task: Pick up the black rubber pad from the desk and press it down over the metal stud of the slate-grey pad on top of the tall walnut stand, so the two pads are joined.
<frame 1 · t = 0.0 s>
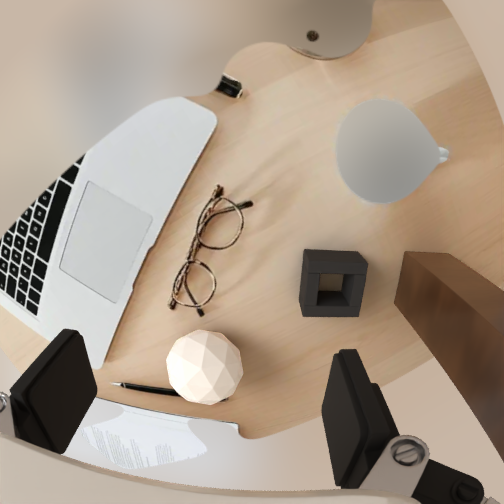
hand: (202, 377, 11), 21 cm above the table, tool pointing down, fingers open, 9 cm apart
geometric ball: (209, 345, 34), on the table
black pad: (328, 276, 31), on the table
stand: (422, 278, 31), on the table
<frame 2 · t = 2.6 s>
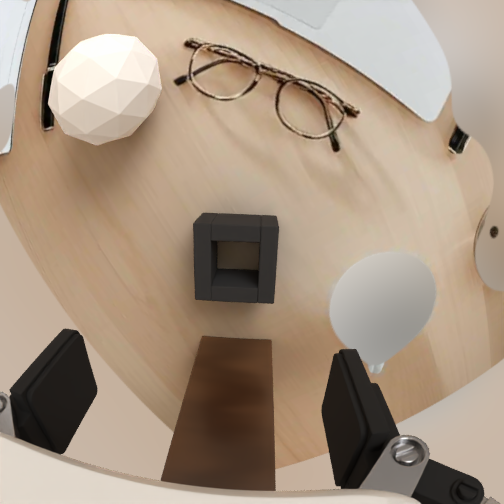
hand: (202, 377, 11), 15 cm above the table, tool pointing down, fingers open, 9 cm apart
geometric ball: (127, 95, 21), on the table
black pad: (238, 249, 24), on the table
stand: (236, 364, 28), on the table
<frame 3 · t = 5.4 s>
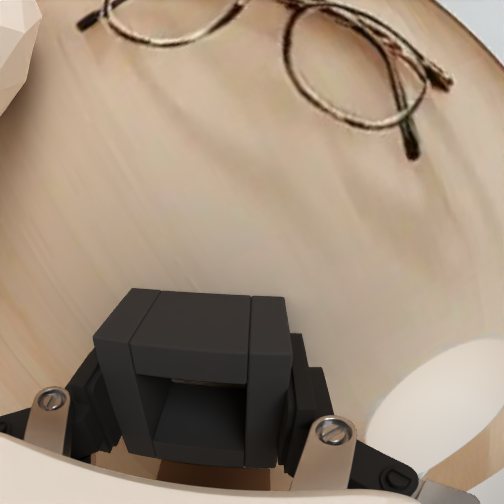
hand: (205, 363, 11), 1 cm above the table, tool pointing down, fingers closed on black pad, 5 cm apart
geometric ball: (7, 66, 8), on the table
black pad: (207, 355, 12), on the table, touching gripper
stand: (217, 489, 15), on the table
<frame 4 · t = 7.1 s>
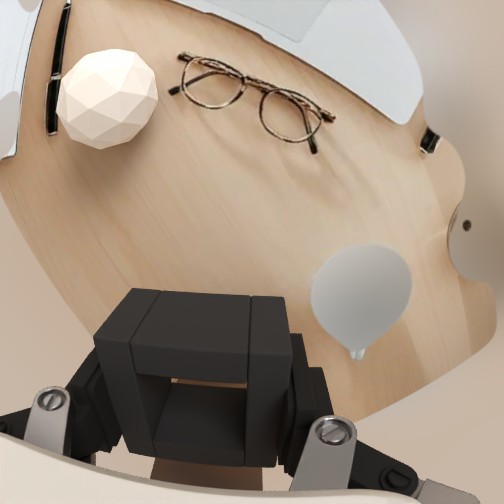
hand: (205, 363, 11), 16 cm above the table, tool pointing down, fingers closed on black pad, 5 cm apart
geometric ball: (126, 103, 23), on the table
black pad: (207, 355, 12), point 16 cm above the table, touching gripper
stand: (226, 351, 30), on the table
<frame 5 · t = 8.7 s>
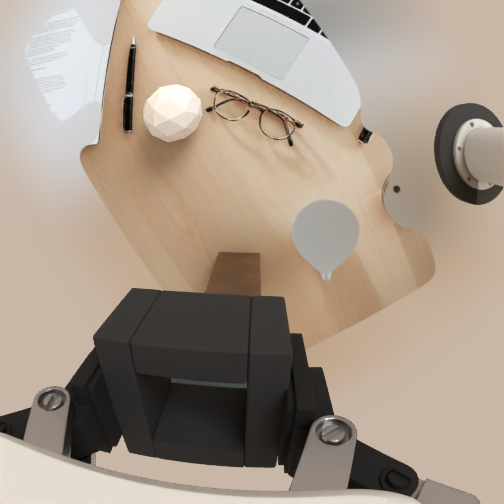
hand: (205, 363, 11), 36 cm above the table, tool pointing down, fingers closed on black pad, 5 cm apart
grey pad: (221, 406, 22), resting on stand
geometric ball: (179, 115, 42), on the table
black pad: (207, 355, 12), point 35 cm above the table, touching gripper
stand: (238, 271, 49), on the table
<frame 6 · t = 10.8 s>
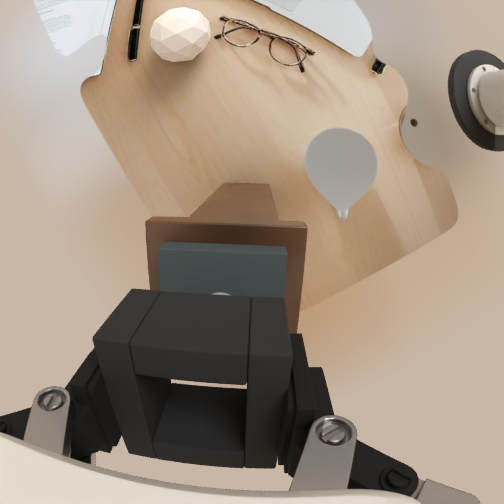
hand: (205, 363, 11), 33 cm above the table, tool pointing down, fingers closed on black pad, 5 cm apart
grey pad: (223, 299, 16), resting on stand
geometric ball: (186, 43, 36), on the table
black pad: (207, 356, 12), point 33 cm above the table, touching gripper
stand: (245, 205, 43), on the table
when the fingers open (30 cm above the table, at t = 12.3 s): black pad stays where it is, resting on grey pad.
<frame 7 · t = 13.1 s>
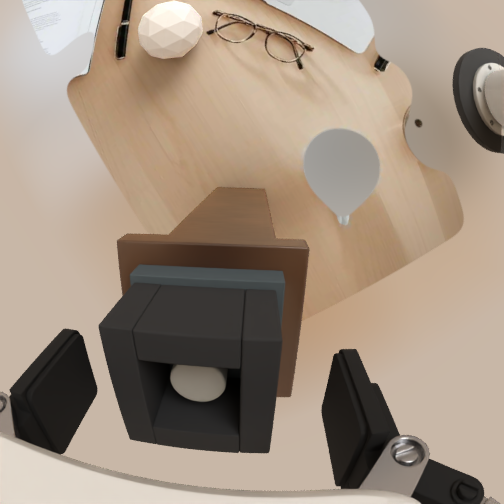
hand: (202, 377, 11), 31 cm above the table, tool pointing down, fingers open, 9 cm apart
grey pad: (209, 330, 14), resting on stand
geometric ball: (177, 39, 34), on the table
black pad: (204, 346, 13), point 29 cm above the table, touching grey pad
stand: (240, 211, 40), on the table
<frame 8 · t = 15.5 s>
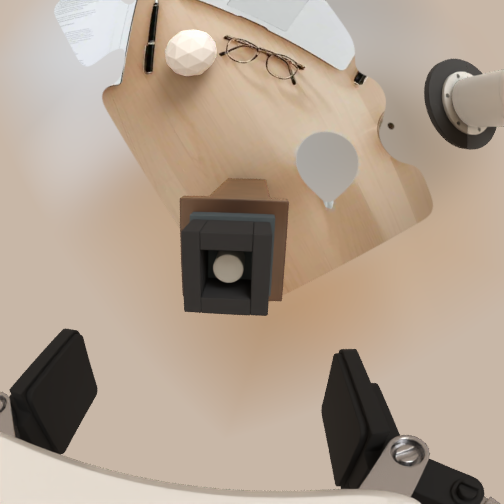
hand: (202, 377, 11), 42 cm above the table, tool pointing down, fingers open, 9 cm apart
grey pad: (232, 251, 24), resting on stand
geometric ball: (195, 59, 44), on the table
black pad: (230, 257, 23), point 29 cm above the table, touching grey pad
stand: (246, 197, 51), on the table
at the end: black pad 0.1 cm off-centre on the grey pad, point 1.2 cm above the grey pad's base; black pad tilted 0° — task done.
